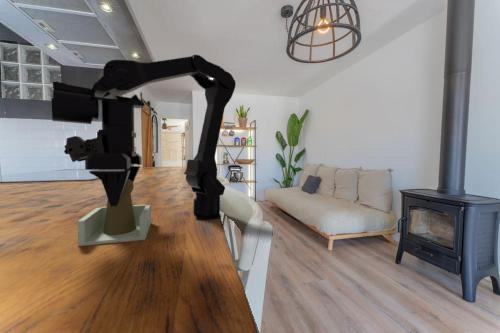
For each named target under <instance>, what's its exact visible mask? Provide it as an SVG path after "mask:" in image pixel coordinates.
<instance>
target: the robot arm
mask: <svg viewBox="0 0 500 333" xmlns="http://www.w3.org/2000/svg"><path fill="white" fill-rule="evenodd" d="M188 76H190V77H192V78H193V79H194V81H195V82H196V83H197V84H198V86H199V87H201V88H202V89H204V96H205V101H206V109H205V115H204V118H203V124H202V129H201V133H200V137H199V143H198V148H197V151H196V152H197V153H196V155H194V156H195V157H194V158H193V159H190V158H189V159H187V161H186V170H184V173H183V175H185V181H186V182H187V184H188V185H189V186H190V187H191V191H192V192H193V193H195V198H193V199H192V201H193V202H192V208H193V211H192V212H193V216H195V220H207V219H208V220H209V219H219V218H220V219H221V218H222V215H221V213H220V212H221V211H220V210H221V196H224V193H225V190H226V187H225V185H224V184H223V183H222V182H221V181H220V180H219V179H218V166H217V162H216V157H215V156H216V153H217V148H218V143H219V138H220V133H221V128H222V122H223V119H224V118H223V117H224V113H225V108H226V107H227V105H228V103H229V102H230V101H231V99H232V97H233V95H234V91H235V89H236V86H237V85H236V80H235V78H234V76H233V75H232V74H231V73H230V72H228V71H227V70H225V69H224V68H223V67H222V66H220V65H217V64H215V63H213V62H210V61H208V60H206V59H205V58H204V57H203V56H202V55H199V54H193V55H191V56H185V57H177V58H173V59H172V58H170V59H163V60H158V61H151V62H141V61H136V60H131V59H129V60H127V59H111V60H108V62H106V63H105V65H104V66H103V68H102V70H101V72H100V74H99V79H98V80H97V81H94V82H93V83H92V85H91V88H89V87H83V86H76V85H73V84H72V85H71V84H68V83H65V82H61V81H53V82H52V97H51V119H52V122H60V123H61V122H62V123H74V124H83V125H84V124H85V125H92V122H93V120H99V114H100V108H99V107H100V106H99V104H101V129H98V131H97V132H96V137H94V138H90V139H89V138H87V139H84V138H82V137H81V136H78V135H74V136H73V135H72V136H70V137H66V145H64V150H63V153H64V154H65V155H69V158H70V159H71V162H72V163H75V162H84V167H85V170H88V172H89V174H90V175H93V176H95V177H96V178H98V179H99V180H100V181H101V183H102V186H103V189H104V191H105V194H106V197H107V200H109V203H110V206H117V205H118V203H119V200H120V198H121V195H122V192H123V190H124V187H125V184H126V181H127V179H130V180H131V181H132V182H133V183H134V182H135V181H136V179H137V178H136V177H137V175H138V173H139V171H140V169H141V165H142V163H143V162H142V160H143V159H142V156H141V155H140V154H139V153H137V151H135V138H137V132H135V109H140V108H142V107H143V108H144V107H145V102H143V100H141V99H140V98H139V97H138V95H137V94H133V95H132V96H131V97H127V96H124V95H127V94H128V93H131V92H134V91H136V90H138V89H140V88H142V87H144V86H147V85H149V84H152V83H154V84H155V83H158V82H163V81H167V80H172V79H177V78H182V77H183V78H184V77H188ZM111 95H112V96H113V98H106V97H108V96H111Z"/></svg>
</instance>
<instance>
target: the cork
mask: <svg viewBox="0 0 500 333" xmlns="http://www.w3.org/2000/svg"><path fill="white" fill-rule="evenodd" d="M134 188H135V187H134V182H132V181H131V180H130V179H127V181H126V184H125V187H124V190H123V192H122V195H121V198H120V200H119V203H118V205H117V206H110V203H109V200H108V199H107V201H106V202H107V203H106V207H107V208H106V215H105V223H104V230H103V233H104V234H105V235H121V234H126V233H129V232H132V231H134V230H135V229H136V223H135V217H134V211H133V200H132V192H133V191H134Z"/></svg>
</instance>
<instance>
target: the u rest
mask: <svg viewBox="0 0 500 333" xmlns="http://www.w3.org/2000/svg"><path fill="white" fill-rule="evenodd" d="M132 205H133V204H132ZM106 208H107V206H97V207H96V208H94V209H93V210H91V211H90V212H89V213H87V214H86V215H84V216H83V217H82V218H80V219H79V220H77V246H78V247H83V246H84V247H85V246H95V245H105V244H106V245H107V244H113V243H114V244H115V243H116V244H117V243H126V242H136V241H145V240H146V238H147V235H148V232H149V230H150V227H151V224H152V203H151V204H150V203H148V204H134V205H133V211H134V217H135V223H136V229H135V230H134V231H132V232H129V233H126V234H121V235H105V234H104V233H103V230H104V223H105V215H106Z"/></svg>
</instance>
